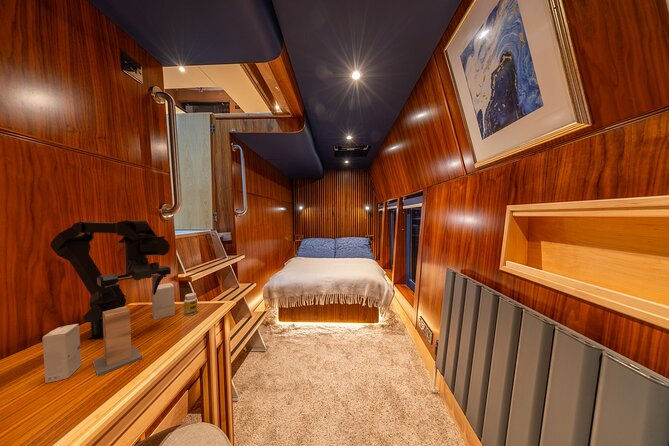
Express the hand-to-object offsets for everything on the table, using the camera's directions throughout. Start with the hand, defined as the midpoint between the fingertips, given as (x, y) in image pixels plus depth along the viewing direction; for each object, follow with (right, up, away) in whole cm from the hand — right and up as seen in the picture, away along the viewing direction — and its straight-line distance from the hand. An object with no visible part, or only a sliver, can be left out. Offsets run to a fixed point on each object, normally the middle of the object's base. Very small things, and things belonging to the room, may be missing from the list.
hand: (137, 298), depth 78 cm
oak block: (+7, -13, -14) cm, 20 cm away
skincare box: (-3, -14, -19) cm, 24 cm away
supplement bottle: (+8, -13, +17) cm, 23 cm away
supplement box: (-3, -13, +16) cm, 21 cm away
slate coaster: (+7, -13, -14) cm, 21 cm away
